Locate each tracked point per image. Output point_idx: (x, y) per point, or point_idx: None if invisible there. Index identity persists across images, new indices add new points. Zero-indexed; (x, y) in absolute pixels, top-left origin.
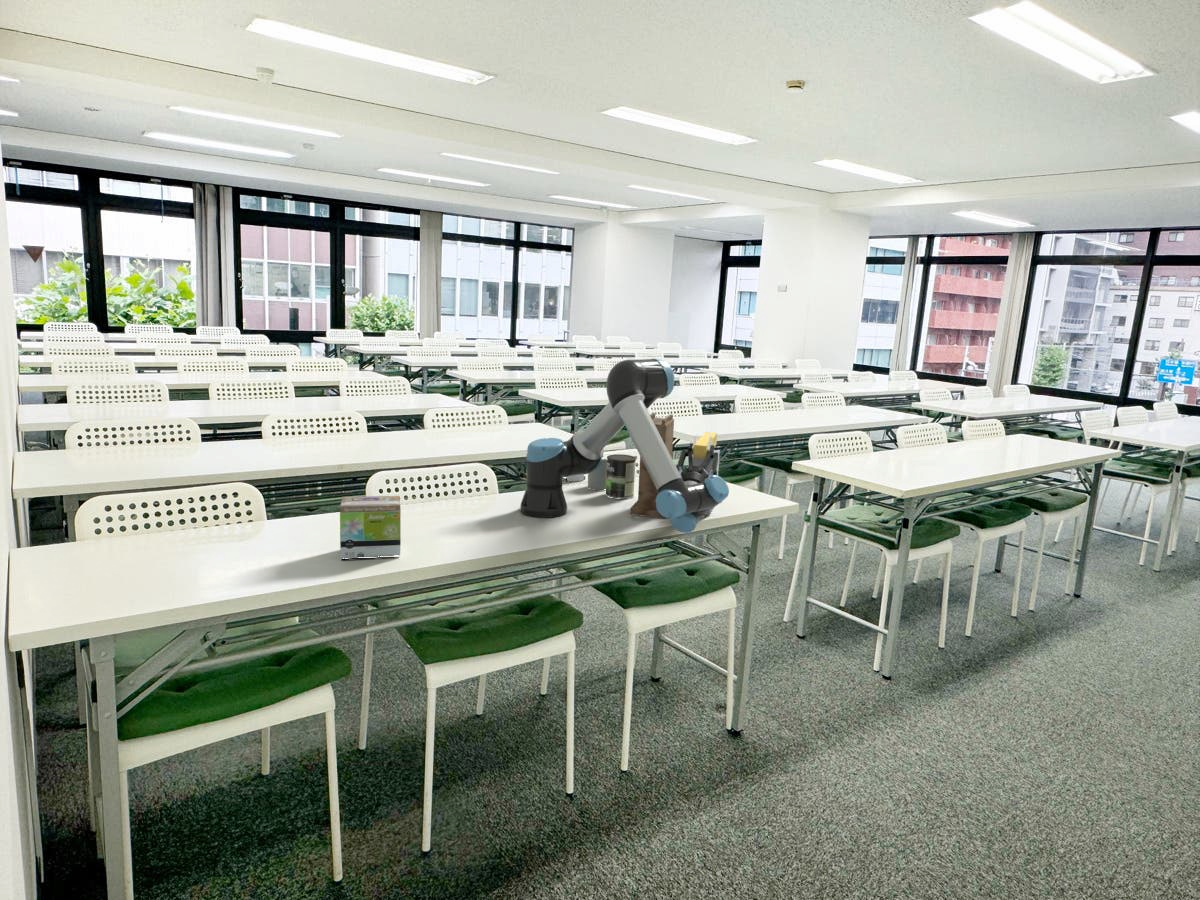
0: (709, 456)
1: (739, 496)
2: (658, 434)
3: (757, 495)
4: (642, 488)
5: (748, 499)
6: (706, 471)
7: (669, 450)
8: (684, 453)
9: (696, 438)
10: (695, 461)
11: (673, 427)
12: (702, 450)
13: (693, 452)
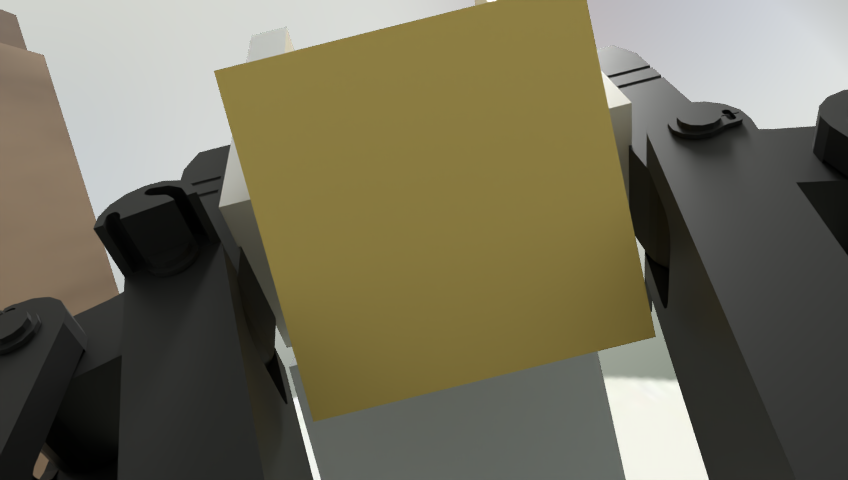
0: (812, 236)
1: None
2: None
3: (669, 388)
4: None
5: (674, 433)
6: (540, 462)
7: None
8: (8, 411)
9: (278, 54)
10: None
11: (63, 133)
12: (502, 148)
13: (277, 288)
